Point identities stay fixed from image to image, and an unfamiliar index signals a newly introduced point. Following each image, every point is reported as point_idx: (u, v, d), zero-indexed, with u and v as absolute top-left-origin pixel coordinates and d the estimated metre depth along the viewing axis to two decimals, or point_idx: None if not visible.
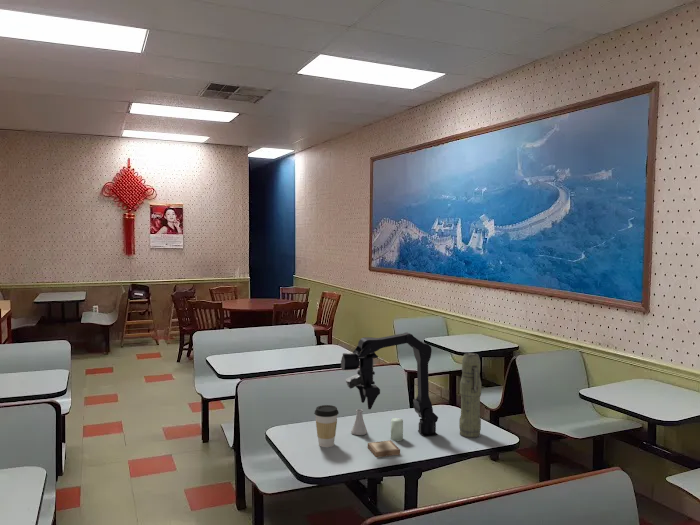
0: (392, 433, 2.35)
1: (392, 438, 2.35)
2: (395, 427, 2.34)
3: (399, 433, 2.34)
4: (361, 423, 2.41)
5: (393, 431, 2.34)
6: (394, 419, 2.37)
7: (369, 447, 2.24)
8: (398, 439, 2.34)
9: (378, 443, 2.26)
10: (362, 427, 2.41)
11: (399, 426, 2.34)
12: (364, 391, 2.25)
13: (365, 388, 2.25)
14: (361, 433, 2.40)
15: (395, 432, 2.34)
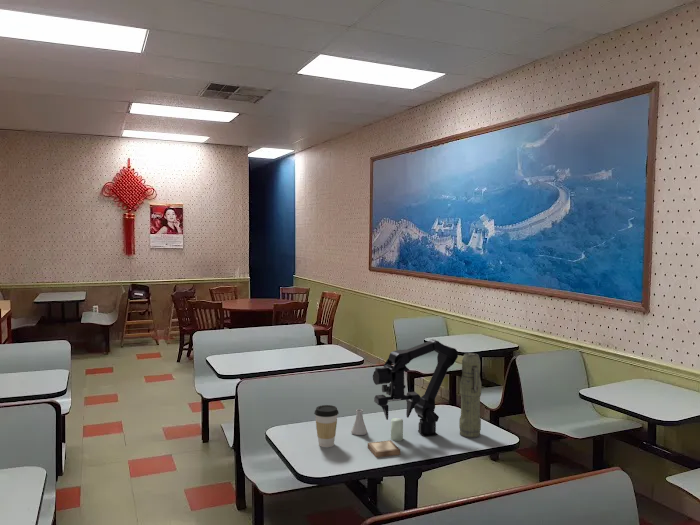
0: (392, 433, 2.35)
1: (392, 438, 2.35)
2: (395, 427, 2.34)
3: (399, 433, 2.34)
4: (361, 423, 2.41)
5: (393, 431, 2.34)
6: (394, 419, 2.37)
7: (369, 447, 2.24)
8: (398, 439, 2.34)
9: (378, 443, 2.26)
10: (362, 427, 2.41)
11: (399, 426, 2.34)
12: None
13: None
14: (361, 433, 2.40)
15: (395, 432, 2.34)
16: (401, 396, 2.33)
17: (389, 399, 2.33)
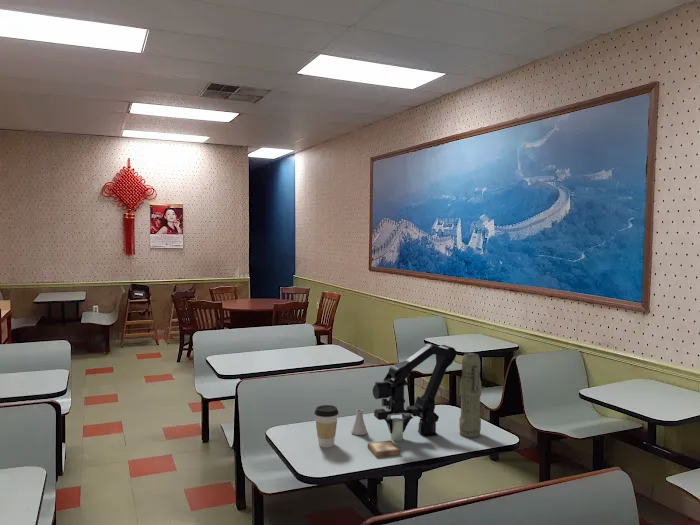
0: (392, 433, 2.35)
1: (392, 438, 2.35)
2: (395, 427, 2.34)
3: (399, 433, 2.34)
4: (361, 423, 2.41)
5: (393, 431, 2.34)
6: (394, 419, 2.37)
7: (369, 447, 2.24)
8: (398, 439, 2.34)
9: (378, 443, 2.26)
10: (362, 427, 2.41)
11: (399, 426, 2.34)
12: None
13: None
14: (361, 433, 2.40)
15: (395, 432, 2.34)
16: (401, 410, 2.33)
17: (389, 413, 2.34)
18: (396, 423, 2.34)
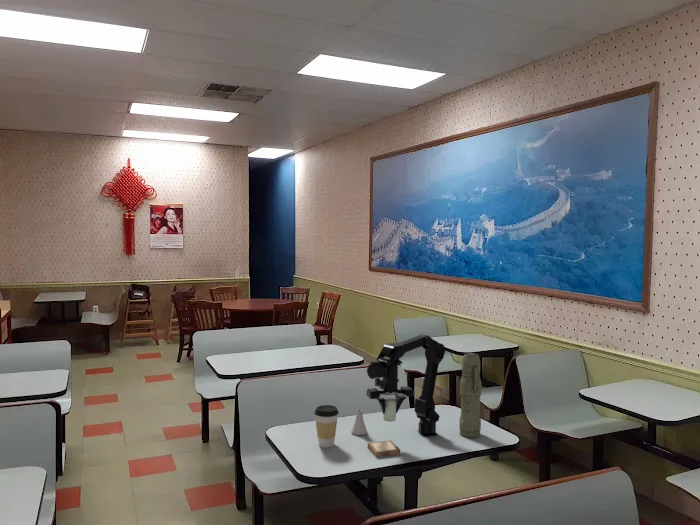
0: (385, 413, 2.28)
1: (385, 419, 2.28)
2: (388, 407, 2.27)
3: (392, 413, 2.27)
4: (361, 423, 2.41)
5: (386, 411, 2.27)
6: (387, 399, 2.29)
7: (369, 447, 2.24)
8: (391, 420, 2.27)
9: (378, 443, 2.26)
10: (362, 427, 2.41)
11: (392, 407, 2.26)
12: None
13: None
14: (361, 433, 2.40)
15: (388, 413, 2.27)
16: (394, 390, 2.26)
17: (381, 393, 2.26)
18: (389, 403, 2.26)
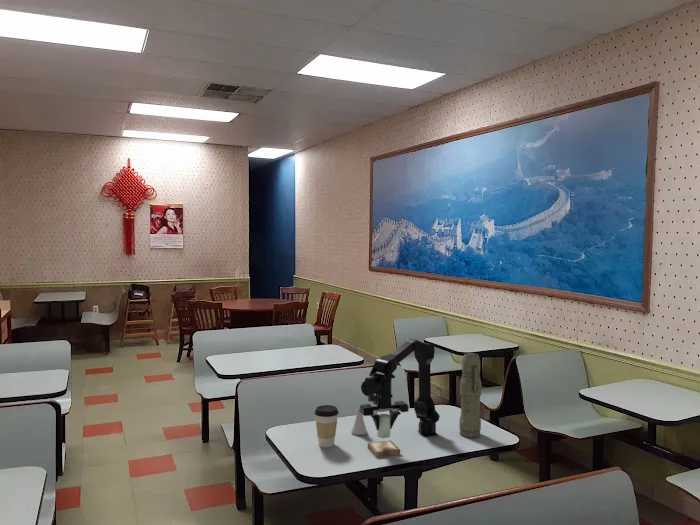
0: (379, 430, 2.21)
1: (379, 435, 2.21)
2: (382, 423, 2.20)
3: (386, 430, 2.20)
4: (361, 423, 2.41)
5: (380, 428, 2.21)
6: (381, 415, 2.23)
7: (369, 447, 2.24)
8: (385, 436, 2.20)
9: (378, 443, 2.26)
10: (362, 427, 2.41)
11: (386, 423, 2.20)
12: None
13: None
14: (361, 433, 2.40)
15: (382, 429, 2.20)
16: (388, 406, 2.19)
17: (375, 409, 2.20)
18: (383, 419, 2.20)
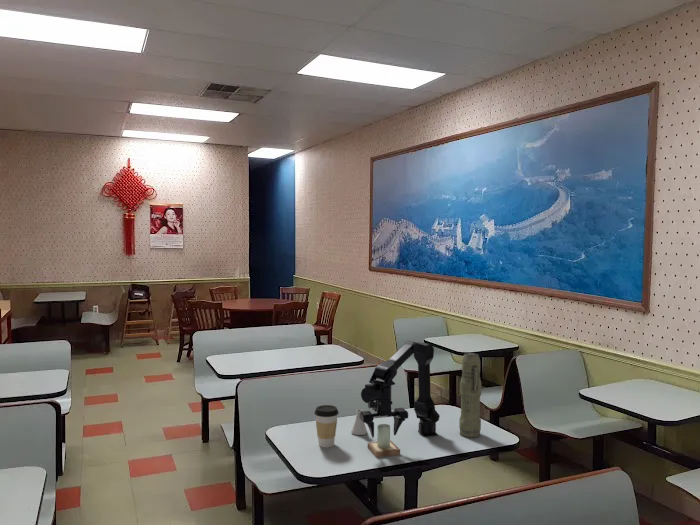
0: (378, 440, 2.21)
1: (378, 445, 2.21)
2: (382, 434, 2.20)
3: (386, 440, 2.20)
4: (361, 423, 2.41)
5: (379, 438, 2.21)
6: (381, 425, 2.23)
7: (369, 447, 2.24)
8: (385, 446, 2.21)
9: None
10: (362, 427, 2.41)
11: (386, 433, 2.20)
12: None
13: None
14: (361, 433, 2.40)
15: (382, 439, 2.20)
16: (388, 413, 2.20)
17: (375, 416, 2.20)
18: (383, 429, 2.20)
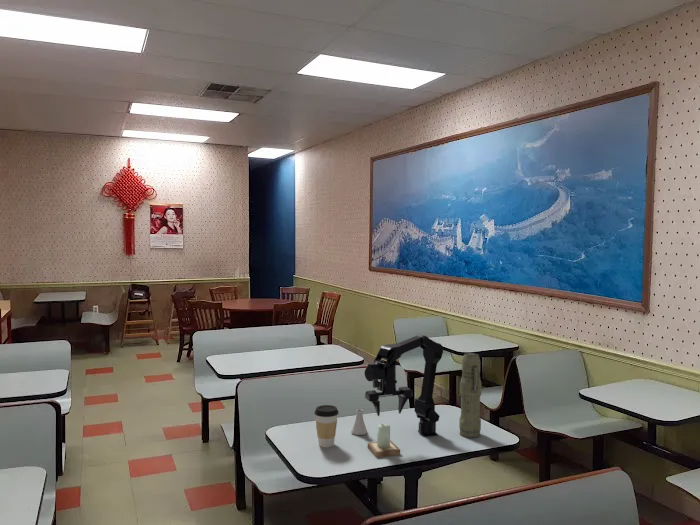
0: (378, 440, 2.21)
1: (378, 445, 2.21)
2: (382, 434, 2.20)
3: (386, 440, 2.20)
4: (361, 423, 2.41)
5: (379, 438, 2.21)
6: (381, 425, 2.23)
7: (369, 447, 2.24)
8: (385, 446, 2.21)
9: None
10: (362, 427, 2.41)
11: (386, 433, 2.20)
12: None
13: None
14: (361, 433, 2.40)
15: (382, 439, 2.20)
16: (393, 391, 2.26)
17: (380, 395, 2.26)
18: (383, 429, 2.20)
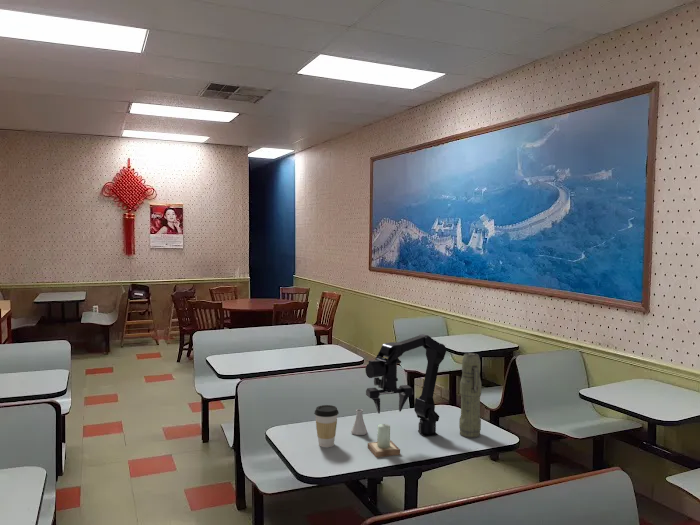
0: (378, 440, 2.21)
1: (378, 445, 2.21)
2: (382, 434, 2.20)
3: (386, 440, 2.20)
4: (361, 423, 2.41)
5: (379, 438, 2.21)
6: (381, 425, 2.23)
7: (369, 447, 2.24)
8: (385, 446, 2.21)
9: None
10: (362, 427, 2.41)
11: (386, 433, 2.20)
12: None
13: None
14: (361, 433, 2.40)
15: (382, 439, 2.20)
16: (393, 389, 2.27)
17: (381, 392, 2.28)
18: (383, 429, 2.20)
